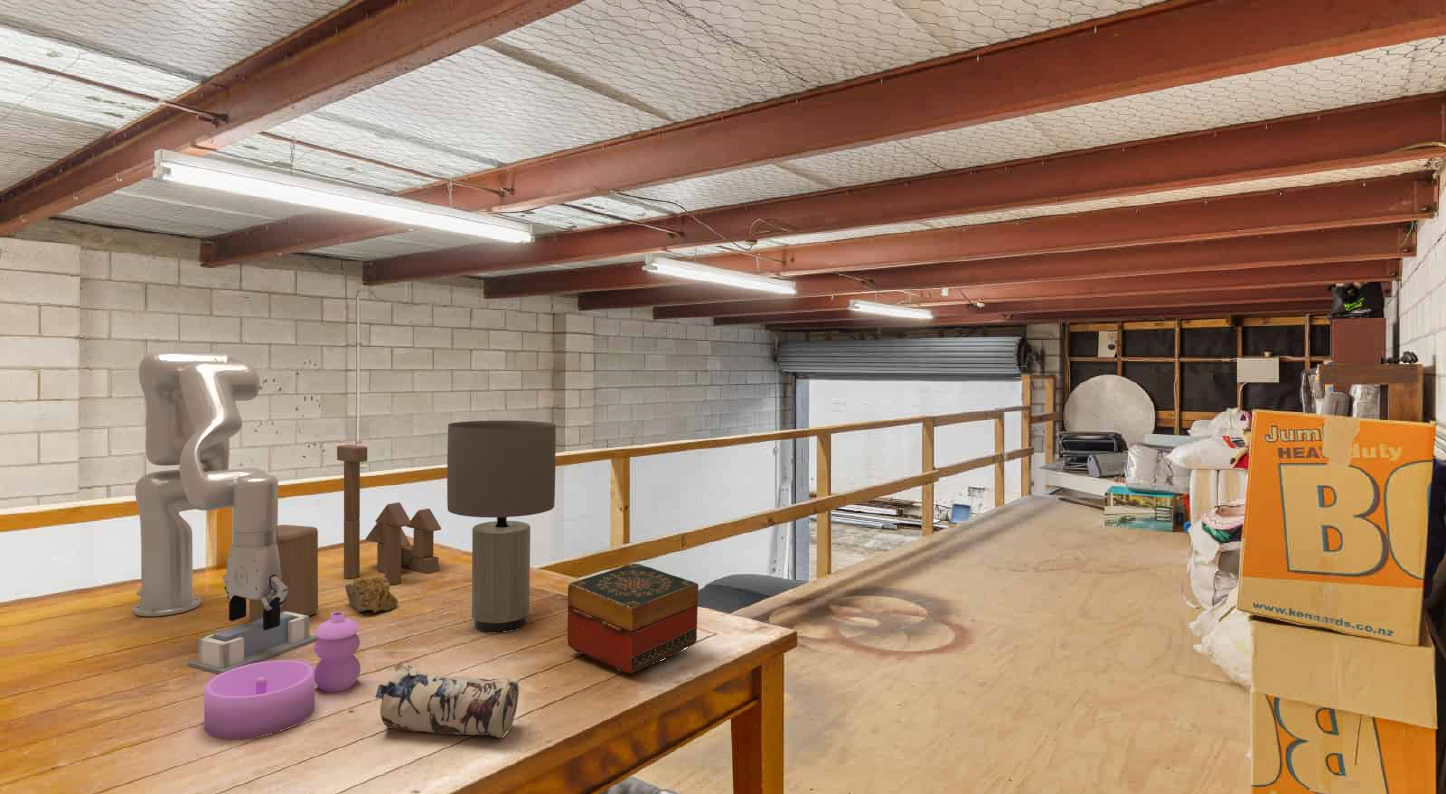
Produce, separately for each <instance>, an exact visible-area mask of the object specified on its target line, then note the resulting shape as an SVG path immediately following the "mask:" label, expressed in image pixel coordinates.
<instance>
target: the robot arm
mask: <svg viewBox="0 0 1446 794" xmlns="http://www.w3.org/2000/svg"><path fill="white" fill-rule="evenodd" d="M138 380H139V383H140V384H139V385H140V387H141V390H142V393H143V396H144V399H145V403H146V405H145V406H146V417H145V418H146V419H145V455H146V459H147V460H148V462H149V463H150V464H152V465H154V466H162V467H164V466H165V467H166V466H168V467H169V466H179V467H178V469H168V470H161V471H155V472H150V473H147V474H145V475H143V476H141V478H139V479H138V480H137V482H136V484H135V488H134V495H135V500H136V504H137V509H138V513H139V514H138V515H139V524H140V552H141V554H140V568H141V570H140V572H141V573H140V575H141V578H140V579H141V582H140V583H141V589H139V590H137V591H136V593H135V594H136V596H138V597H140V602H138V603H137V604H135V605H134V606H132V607H133V608H132V613H133V614H134V615H136V616H140V617H163V616H170V615H175V614H180V613H184V612H189V611H191V610H194V609H196V608H198V607H199V606H200V605H201V604H202V598H201V597H199V596H196V595H193V593H194V590H193V588H194V586H193V583H194V582H193V581H194V579H193V578H194V577H193V575H194V574H193V572H194V571H193V564H194V563H193V561H194V560H193V554H194V553H193V530H192V527H191V525H190V523H188V521H186V520H185V519H184V518H183V517H182V516H181V514H180V513H181V512H185V511H192V510H198V511H212V510H220V509H230V508H232V543H231V544H230V548H229V550H228V551H229V552H228V557H227V563H226V573H225V574H223V575H222V581H223V584H224V590H225V592H226V594H227V595H226V599H227V600H228V620H229V622H234V621H237V620H240V619H244V618H246V617H247V599H248V600H249V599H251V600H259V599H261V600H262V602H263V604H264V606H265V608H266V609H265V610H263V629H264V630H269V629H272V628H275V627H277V626H279V625H280V607H281V606H282V605H283V602H284V601H285V599H286V595H287V593H288V587H286V586H285V585H284V584H283V583H282V582H281V570H280V558H279V551H278V545H277V533H278V526H279V523H278V521H279V520H278V519H279V518H278V515H279V481H278V479H277V477H276V476H274V475H273V474H269V473H268V474H267V473H266V472H265V471H264V470H263V469H260V468H255V467H248V468H247V467H246V468H237V469H234V468H233V469H232V468H231V469H229V466H230V438H232V437H233V436H235V435H236V434H237V433H239V431H240V430H241V429H242V426H243V419H242V418H241V415H240V412H239V409H238V406H237V403H236V402H240V401H241V402H242V401H243V402H245V401H251V400H254V399H256V397H257V396H258V394H259V392H260V388H261V381H260V378H259V375H258V373H257V371H256V369H255V368H254V367H253V366H252V365H251V364H250V363H249V362H247V361H246V360H244V359H241V358H239V357H237V356H235V355H233V354H230V353H225V352H202V351H200V352H199V351H197V352H195V351H170V350H169V351H156V352H152V353H149V354H147V355H145V356H143V358H141V361H140V364H139V367H138ZM266 593H267V594H266ZM270 597H272V598H273V600H272V601H271V602H270V601H269V599H268V598H270Z"/></svg>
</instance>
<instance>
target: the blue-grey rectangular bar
mask: <svg viewBox="0 0 1446 794" xmlns="http://www.w3.org/2000/svg"><path fill="white" fill-rule="evenodd" d="M291 620H293V615H290V614H285V613H280V625H279V626H277V627H275V628H272V629H269V630H264V629H263V619H260V620H257V621H254V622H251V621H250V622H247V623H245V624H241V625H238V626H235V627H232V628H229V629H226V630H222V631H218V632H219V633H218V632H216V633H213V634H214V639H216V640H220V641H224V642H227V641H230V640H233V639H236V638H239V637H242V638H244V657H245V656H248V655H251V654H254V653H256V652H259V651H262V650H265V649H268V648H271V647H273V646H276V645H279V644H282V643H285V642H287V641H288V621H291Z"/></svg>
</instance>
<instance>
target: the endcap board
mask: <svg viewBox="0 0 1446 794" xmlns="http://www.w3.org/2000/svg"><path fill="white" fill-rule="evenodd" d="M282 613H285V614H290V615H293V620H291V621H288V641H287V642H285V643H282V644H279V645H276V646H273V647H271V648H268V649H265V650H262V651H259V652H256V653H254V654H251V655H248V656H245V657H244V638H242V637H239V638H236V639H233V640H230V641H227V642H224V641H220V640H216V639H214V634H215V633H213V634H210V635H206V636H202V637H199V638H197V656H198V657H197V658H195V659H193V660H190V661H188V662H187V666H188V667H192V668H196V669H200V670H203V671H208V672H210V673H214V674H218V675H219V674H221V673H223V672H226V671H228V670H231V669H234V668H237V667H240V666H244V665H248V664H253V663H258V662H263V661H265V660H267V659H271V658H274V657H275V656H279V655H282V654H284V653H286V652H290V651H292V650H294V649H295V650H296V649H298V648H300V647H304V646H306V645H308V644H311V643H314V642H316V641H317V639H319V638H318V637H317V635H311V634H310V616H306V615H301V614H296V613H291V612H287V611H285V612H282ZM219 632H220V631H218V632H217V633H219Z"/></svg>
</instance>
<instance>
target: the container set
mask: <svg viewBox="0 0 1446 794" xmlns="http://www.w3.org/2000/svg"><path fill="white" fill-rule="evenodd" d="M358 631H359V624H358V623H357V622H356V621H355V620H353V619H351V618H345V612H344V611H334V612H331V613H330V619H329V620H327V621H324V622H322V623H321V624H320V625H318V627H317V628H316V631H315V635H316V636H317V637H318V638H319V639H317V641H315V644H314V648H313V649H314V652H315V654H316V655H317V657H318V658H319V659H320V660H319V662H318V663H317V664H316V666H315V667H314V666H313V665H312V664H310V663H308V662H305V661H301V660H294V659H293V660H292V659H290V660H289V659H279V660H267V661H265V660H264V661H260V662H257V663H253V664H248V665H244V666H240V667H237V668H234V669H231V670H228V671H226V672H223V673H221V674H218V675H215V676H213V677H212V678H211V679H209V680H208V681H207V682H206V684H205V685H204V688H203V692H204V693H203V694H204V695H203V699H204V701H203V702H204V704H203V708H204V711H203V712H204V716H203V717H204V719H203V720H204V730H205V733H206V734H208V735H209V736H211V737H215V738H218V739H225V740H245V738H246V739H253V738H258V737H259V736H260V737H263V736H262V735H265V736H267V735H266V734H269V735H271V734H270V733H273V734H276V733H275V732H277V733H279V732H278V731H280V730H283V729H286V728H288V727H290V728H292V727H291V726H293V725H295V724H297V723H299V724H301V723H303V722H304V721H305V720H307V719H308V718H309V717H311V715H312V714H313V713H314V712H315V701H316V700H315V696H316V695H315V693H316V692H315V690H316V689H315V684H316V685H317V687H318V688H320V689H321V691H323V692H327V693H328V692H329V693H334V692H335V693H336V692H337V693H338V692H340V691H345V690H348V689H350V688H351V687H353V685H354V684H355V683H356V682H357V680H359V677H360V675H361V671H362V670H361V664H360V661H359V659H358V658H357V657H356V656H355V655H354V654H355V653H357V651H358V650H359V648H360V645H361V640H360V637H359V634H357V633H358ZM306 718H307V719H306ZM302 721H303V722H302ZM300 722H301V723H300ZM297 725H298V724H297ZM295 726H296V725H295ZM293 727H294V726H293ZM288 729H289V728H288ZM286 730H287V729H286ZM283 731H284V730H283ZM280 732H281V731H280ZM257 736H258V737H257ZM260 737H259V738H260Z"/></svg>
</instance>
